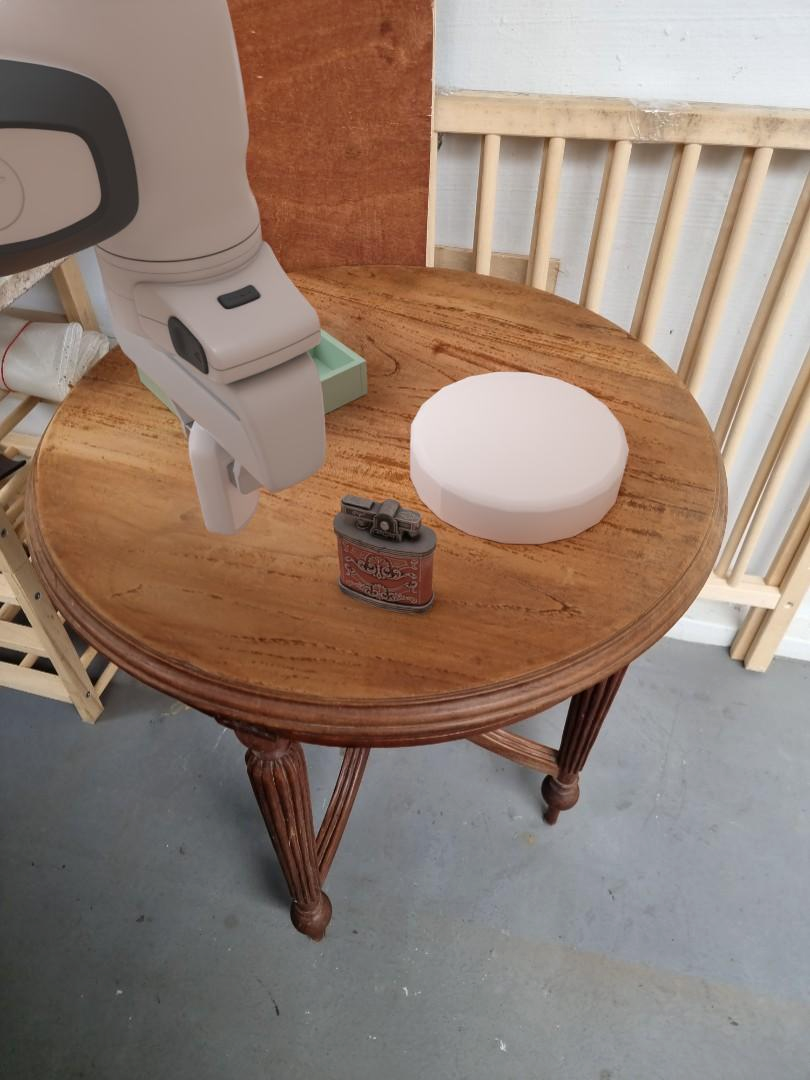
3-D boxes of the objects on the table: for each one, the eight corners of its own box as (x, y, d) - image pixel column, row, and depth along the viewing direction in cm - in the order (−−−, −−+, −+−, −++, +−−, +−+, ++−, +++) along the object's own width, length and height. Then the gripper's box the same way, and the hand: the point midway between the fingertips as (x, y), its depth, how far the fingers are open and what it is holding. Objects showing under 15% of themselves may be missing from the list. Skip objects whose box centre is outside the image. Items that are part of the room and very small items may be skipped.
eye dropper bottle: (282, 503, 57) (263, 365, 49) (224, 546, 54) (193, 406, 46) (242, 478, 59) (217, 340, 50) (184, 517, 56) (146, 378, 47)
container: (545, 385, 83) (552, 347, 80) (664, 503, 71) (678, 464, 67) (375, 436, 77) (374, 398, 74) (472, 574, 65) (476, 535, 61)
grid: (225, 463, 74) (217, 429, 71) (140, 381, 83) (130, 348, 80) (367, 393, 82) (366, 360, 79) (276, 325, 91) (271, 293, 88)
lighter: (439, 590, 64) (443, 502, 56) (426, 621, 61) (429, 534, 54) (348, 565, 65) (341, 477, 58) (332, 595, 63) (323, 507, 56)
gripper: (55, 224, 47) (113, 408, 57) (233, 376, 37) (266, 569, 47) (149, 197, 50) (189, 377, 60) (340, 331, 39) (349, 522, 49)
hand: (224, 462), depth 53 cm, fingers closed on eye dropper bottle, 4 cm apart
